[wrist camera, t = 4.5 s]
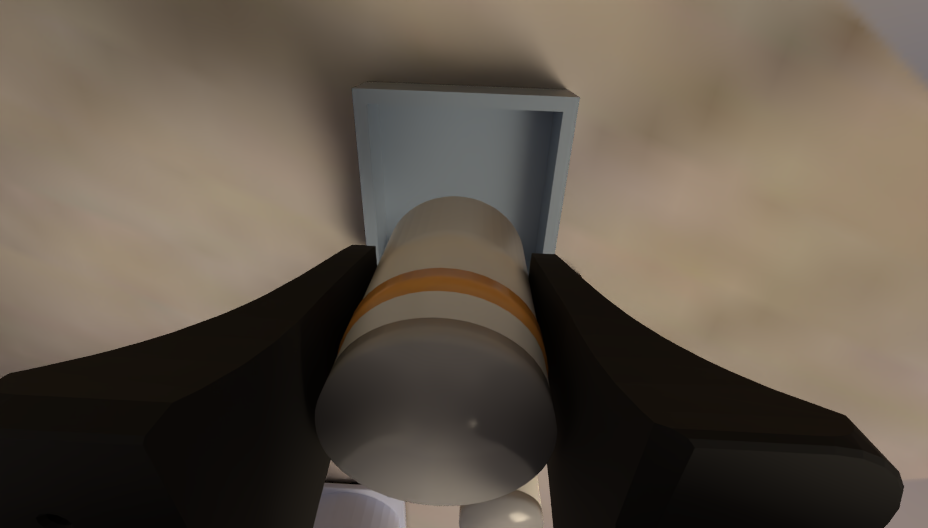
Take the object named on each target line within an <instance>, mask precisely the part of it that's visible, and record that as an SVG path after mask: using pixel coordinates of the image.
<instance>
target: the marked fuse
mask: <svg viewBox="0 0 928 528" xmlns="http://www.w3.org/2000/svg"><path fill="white" fill-rule="evenodd" d="M315 427H316V433H317V435H318V438H319V441H320V443H321V445H322V447H323V449H324V450H325V452H326V454H327V455H328V456H329V458H330V459H331V460H332V461H333V462H334V463H335V464H336V465H337V466H338V467H339V468H340V469H341V470H342V471H343V472H344V473H345V474H347V475H348V476H349V477H350V478H352V479H353V480H355V481H357V482H358V483H360V484H361V485H363V486H365V487H367V488H369V489H371V490H373V491H375V492H378V493H380V494H383V495H385V496H388V497H391V498H394V499H397V500H401V501H406V502H410V503H416V504H422V505H433V506H459V505H469V504H475V503H481V502H485V501H489V500H493V499H495V498H498V497H501V496H504V495H506V494H508V493H511V492H513V491H515V490H517V489H518V488H520V487H522V486H523V485H525V484H527V483H528V482H529V481H530V480H532V479H533V478H534V477H535V476H536V475H537V474H538V473H539V472H540V471H541V470H542V469H543V468H544V466H545V465H546V464H547V462H548V461H549V459H550V457H551V455H552V453H553V451H554V448H555V444H556V440H557V424H556V417H555V412H554V407H553V401H552V396H551V391H550V386H549V381H548V362H547V356H546V351H545V346H544V341H543V336H542V332H541V329H540V326H539V324H538V322H537V318H536V313H535V308H534V303H533V298H532V292H531V287H530V282H529V277H528V272H527V266H526V261H525V256H524V251H523V246H522V243H521V239H520V237H519V235H518V233H517V231H516V229H515V228H514V226H513V225H512V223H511V222H510V221H509V220H508V219H507V218H506V217H505V216H504V215H503V214H502V213H501V212H500V211H498V210H497V209H495V208H494V207H492V206H490V205H488V204H486V203H484V202H482V201H479V200H476V199H472V198H467V197H459V196H449V197H440V198H435V199H432V200H429V201H426V202H424V203H422V204H419V205H418V206H416V207H414V208H413V209H411V210H410V211H409V212H408V213H407V214H405V215H404V216H403V217H402V219H401V220H400V221H399V222H398V224H397V225H396V227H395V228H394V230H393V232H392V235H391V237H390V239H389V241H388V244H387V246H386V248H385V250H384V253H383V255H382V257H381V259H380V261H379V264H378V266H377V268H376V270H375V273H374V275H373V277H372V279H371V282H370V284H369V286H368V288H367V291H366V293H365V295H364V297H363V300H362V301H361V302H360V304H359V305H358V307H357V308H356V310H355V311H354V313H353V316H352V318H351V320H350V322H349V324H348V326H347V329H346V331H345V333H344V335H343V338H342V340H341V342H340V345H339V349H338V354H337V358H336V360H335V362H334V364H333V367H332V369H331V371H330V373H329V376H328V378H327V380H326V382H325V385H324V387H323V389H322V391H321V394H320V396H319V398H318V400H317V404H316V409H315Z"/></svg>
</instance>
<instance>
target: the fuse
mask: <svg viewBox="0 0 928 528" xmlns="http://www.w3.org/2000/svg"><path fill="white" fill-rule="evenodd" d="M543 526H544V524H543V516H542V508H541V500H540V493H539V485H538V477H537V475H536V476H535V477H534V478H533V479H532V480H530V481H529V482H528V483H527V484H525V485H523V486H522V487H520V488H518V489H517V490H515V491H513V492H511V493H508V494H506V495H504V496H501V497H498V498H495V499H493V500H489V501H485V502H481V503H475V504H469V505H460V515H459V527H460V528H543Z"/></svg>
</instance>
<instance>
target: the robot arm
mask: <svg viewBox="0 0 928 528" xmlns="http://www.w3.org/2000/svg"><path fill="white" fill-rule="evenodd" d="M376 268H377V258H376V246H366V245H351V246H349V247H347V248H345V249H343V250H342V251H340V252H338V253H337V254H335V255H333V256H332V257H330V258H329V259H327V260H325V261H324V262H322V263H320V264H319V265H317V266H316V267H314V268H312V269H311V270H309V271H307V272H306V273H304V274H302V275H301V276H299V277H297V278H295V279H294V280H292V281H290V282H288V283H286V284H285V285H283V286H281V287H279V288H277V289H275V290H274V291H272V292H270V293H268V294H266V295H264V296H262V297H260V298H258V299H256V300H254V301H252V302H250V303H247V304H245V305H243V306H241V307H238V308H236V309H234V310H231V311H229V312H227V313H224V314H222V315H219V316H217V317H214V318H211V319H209V320H206V321H203V322H200V323H198V324H195V325H192V326H189V327H187V328H184V329H181V330H178V331H175V332H173V333H169V334H166V335H163V336H160V337H157V338H153V339H150V340H147V341H143V342H140V343H136V344H133V345H129V346H126V347H122V348H118V349H115V350H111V351H107V352H103V353H99V354H95V355H91V356H87V357H83V358H78V359H74V360H69V361H65V362H60V363H56V364H51V365H47V366H42V367H38V368H33V369H29V370H24V371H19V372H14V373H10V374H7V375H6V376H4V377H2V378H1V379H0V528H407V525H406V509H405V501H401V500H397V499H394V498H391V497H388V496H385V495H383V494H380V493H378V492H375V491H373V490H371V489H369V488H367V487H365V486H363V485H359V484H340V483H325V479H326V475H327V471H328V468H329V464H330V460H331V459H330V458H329V456H328V455H327V454H326V452H325V450H324V449H323V447H322V445H321V443H320V441H319V438H318V435H317V433H316V427H315V409H316V404H317V400H318V398H319V396H320V394H321V391H322V389H323V387H324V385H325V382H326V380H327V378H328V376H329V373H330V371H331V369H332V367H333V364H334V362H335V360H336V358H337V354H338V349H339V345H340V342H341V340H342V338H343V335H344V333H345V331H346V329H347V326H348V324H349V322H350V320H351V318H352V316H353V313H354V311H355V310H356V308H357V307H358V305H359V304H360V302H361V301H362V300H363V297H364V295H365V293H366V291H367V288H368V286H369V284H370V282H371V279H372V277H373V275H374V273H375V270H376ZM529 282H530V287H531V292H532V298H533V303H534V308H535V313H536V318H537V322H538V324H539V326H540V329H541V332H542V336H543V341H544V346H545V351H546V356H547V362H548V381H549V386H550V391H551V396H552V401H553V407H554V412H555V417H556V424H557V440H556V444H555V448H554V451H553V453H552V455H551V457H550V459H549V461H548V462H547V467H548V476H549V487H550V497H551V507H552V518H553V528H884V527H885V526H886V525H887V524H888V523H889V522H890V520H891V519H892V517H893V516H894V515H895V513H896V512H897V511H898V509H899V507H900V502H901V498H902V494H903V488H904V485H903V482H902V479H901V476H900V473H899V471H898V470H897V469H896V468H895V467H894V466H893V465H892V464H891V463H890V462H889V461H888V460H887V458H886V457H885V456H884V455H883V454H882V453H881V452H880V451H879V450H878V449H877V448H876V447H875V446H874V445H873V444H872V443H871V442H870V441H869V439H868V438H867V437H866V436H865V435H864V434H863V433H862V432H861V431H860V430H859V429H858V428H857V427H856V426H855V425H854V424H853V423H852V422H851V420H850V419H849V418H848V417H847V416H845V415H843V414H840V413H837V412H835V411H832V410H829V409H826V408H823V407H821V406H818V405H815V404H812V403H810V402H807V401H804V400H801V399H799V398H796V397H793V396H790V395H787V394H785V393H782V392H779V391H776V390H774V389H771V388H769V387H766V386H764V385H761V384H759V383H756V382H754V381H752V380H749V379H747V378H745V377H742V376H740V375H738V374H735V373H733V372H731V371H728V370H726V369H724V368H722V367H720V366H718V365H715V364H713V363H711V362H709V361H707V360H705V359H703V358H701V357H699V356H697V355H695V354H693V353H691V352H689V351H688V350H686V349H684V348H682V347H680V346H678V345H676V344H674V343H672V342H671V341H669V340H667V339H665V338H664V337H662V336H660V335H659V334H657V333H655V332H654V331H652V330H651V329H649V328H647V327H646V326H644V325H643V324H641V323H639V322H638V321H636V320H635V319H633V318H632V317H631V316H629V315H628V314H626V313H625V312H624V311H622V310H621V309H620V308H618V307H617V306H616V305H614V304H613V303H612V302H610V301H609V300H608V299H606V298H605V297H604V296H603V295H601V294H600V293H599V292H598V291H597V290H595V289H594V288H593V287H592V286H591V285H590V284H588V283H587V282H586V281H585V280H584V279H583V278H582V277H580V276H579V275H578V274H577V273H576V272H575V271H574V270H573V269H572V268H571V267H569V266H568V265H567V264H566V263H565V262H564V261H563V260H562V259H561V258H559V257H558V256H557V255H556V254H541V253H532V254H531V262H530V269H529Z"/></svg>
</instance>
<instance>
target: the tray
mask: <svg viewBox="0 0 928 528" xmlns="http://www.w3.org/2000/svg"><path fill="white" fill-rule="evenodd" d="M352 98H353V108H354V119H355V130H356V140H357V151H358V162H359V172H360V183H361V194H362V204H363V215H364V226H365V236H366V246H376V258H377V266H378V264H379V261H380V259H381V257H382V255H383V253H384V250H385V248H386V246H387V244H388V241H389V239H390V237H391V235H392V232H393V230H394V228H395V227H396V225H397V224H398V222H399V221H400V220H401V219H402V217H403V216H404V215H405V214H407V213H408V212H409V211H410V210H411V209H413V208H414V207H416V206H418V205H419V204H422V203H424V202H426V201H429V200H432V199H435V198H440V197H449V196H459V197H467V198H472V199H476V200H479V201H482V202H484V203H486V204H488V205H490V206H492V207H494V208H495V209H497V210H498V211H500V212H501V213H502V214H503V215H504V216H505V217H506V218H507V219H508V220H509V221H510V222H511V223H512V225H513V226H514V228H515V229H516V231H517V233H518V235H519V237H520V239H521V243H522V246H523V251H524V256H525V261H526V266H527V272H528V277H529V269H530V262H531V254H532V253H541V254H555V248H556V242H557V236H558V230H559V224H560V217H561V211H562V205H563V199H564V193H565V186H566V180H567V174H568V168H569V162H570V155H571V149H572V143H573V137H574V131H575V124H576V118H577V112H578V106H579V100H580V97H579V96H577V95H575V94H574V93H572V92H571V91H569V90H565V89H540V88H516V87H491V86H466V85H441V84H416V83H391V82H365V83H363V84H360V85H358V86H355V87H353V88H352Z"/></svg>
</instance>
